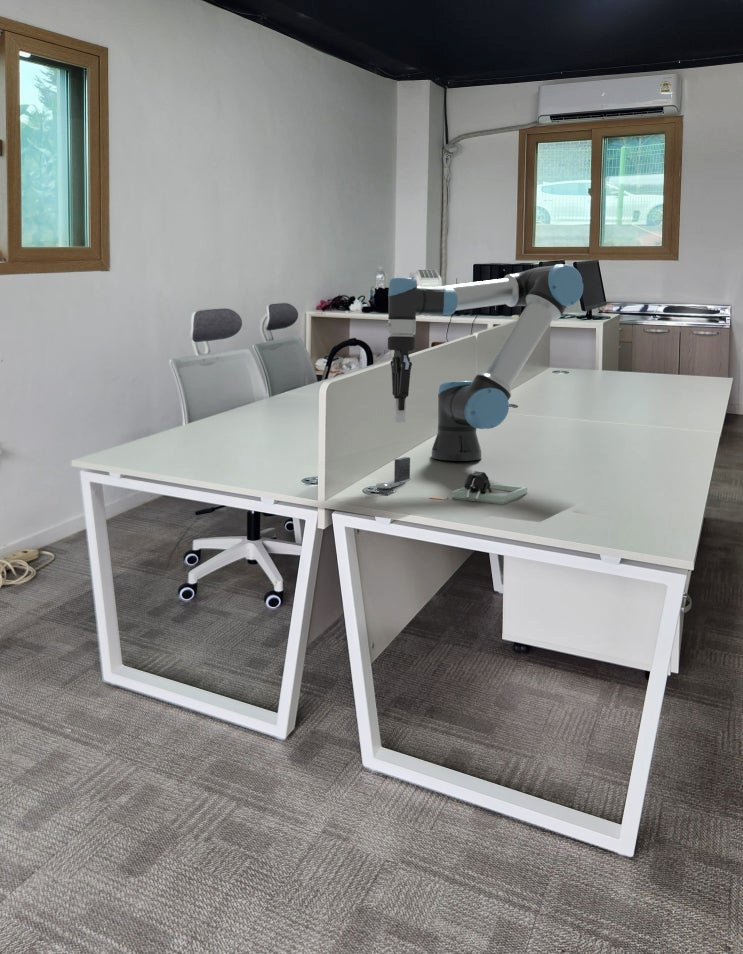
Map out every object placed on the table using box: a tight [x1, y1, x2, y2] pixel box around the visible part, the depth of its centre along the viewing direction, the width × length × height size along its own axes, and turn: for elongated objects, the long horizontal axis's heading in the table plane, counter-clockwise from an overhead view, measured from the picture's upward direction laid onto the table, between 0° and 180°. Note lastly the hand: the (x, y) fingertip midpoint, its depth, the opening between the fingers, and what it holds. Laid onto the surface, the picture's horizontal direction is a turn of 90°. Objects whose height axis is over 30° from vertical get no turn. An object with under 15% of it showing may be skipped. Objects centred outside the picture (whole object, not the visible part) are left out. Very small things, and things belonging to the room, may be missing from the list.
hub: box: [374, 488, 395, 496], centre depth 228 cm, size 7×7×1 cm
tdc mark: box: [429, 496, 446, 501], centre depth 220 cm, size 1×4×1 cm, turn 59°
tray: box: [452, 483, 528, 505], centre depth 224 cm, size 16×14×2 cm
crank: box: [375, 456, 412, 489], centre depth 232 cm, size 15×4×7 cm, turn 149°
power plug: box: [463, 470, 493, 500], centre depth 220 cm, size 6×8×12 cm
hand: (399, 421), depth 239 cm, fingers closed
